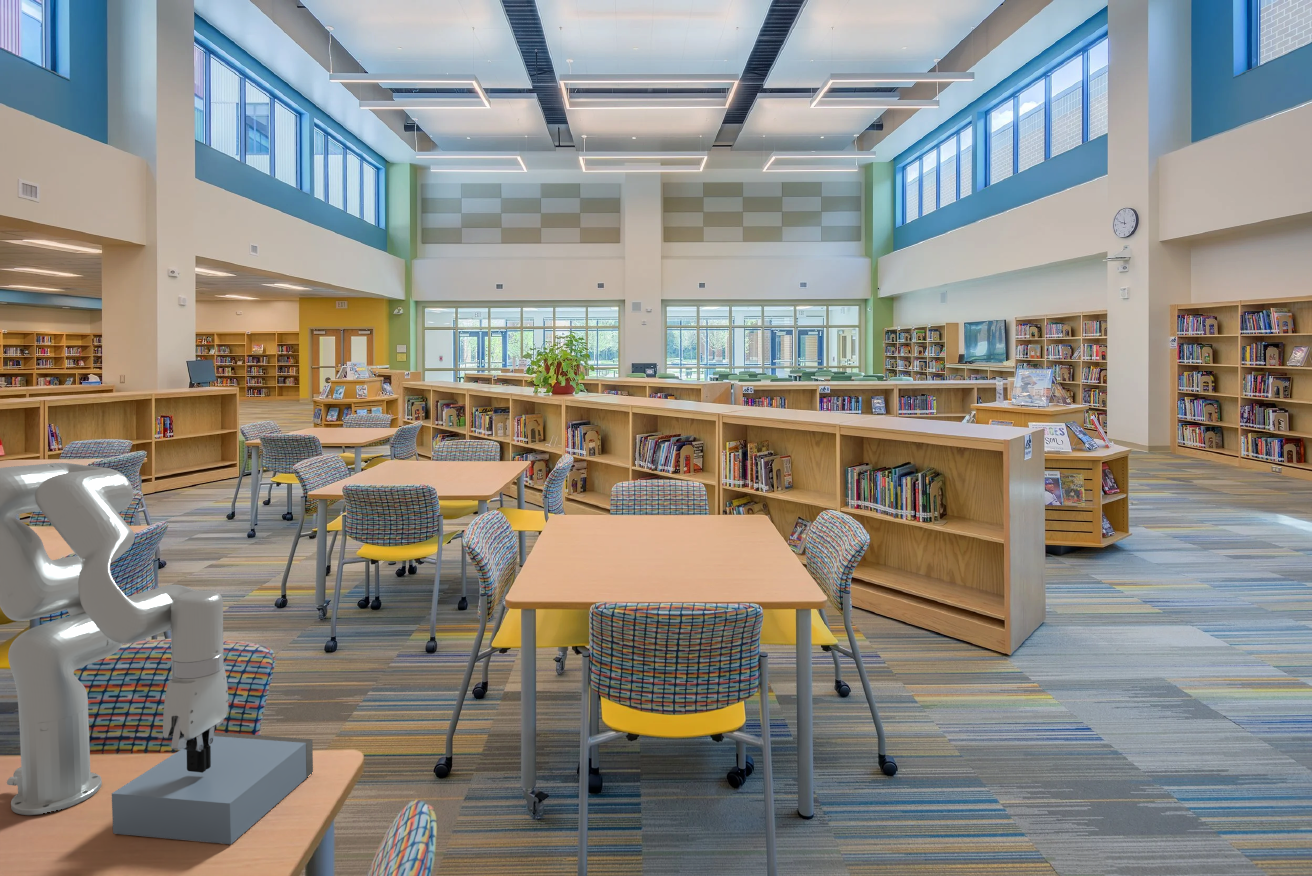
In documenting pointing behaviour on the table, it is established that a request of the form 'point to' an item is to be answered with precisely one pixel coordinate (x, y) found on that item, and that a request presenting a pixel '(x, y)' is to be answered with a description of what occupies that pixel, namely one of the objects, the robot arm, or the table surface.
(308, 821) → the table surface
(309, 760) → the long flat gray bar
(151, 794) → the cover
